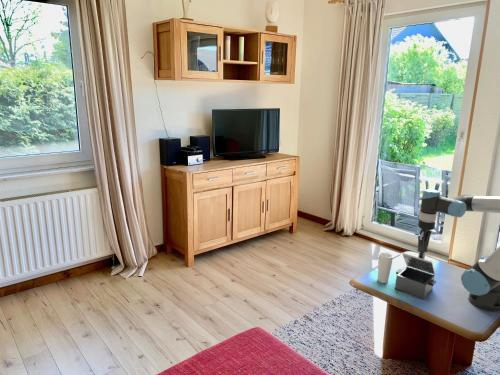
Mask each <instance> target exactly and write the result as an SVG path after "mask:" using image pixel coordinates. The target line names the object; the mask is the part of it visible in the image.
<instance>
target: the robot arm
mask: <svg viewBox="0 0 500 375" xmlns="http://www.w3.org/2000/svg"><path fill="white" fill-rule="evenodd" d="M420 202H421V204H420V209H419V212H418V215H419V217H418V218H419V220H418V222H417V223H418V224H417V227H418V228H420V229H421V230H419V235H418V236H417V239H418V240H417V241H418V243H417V252H418V256H417V257H418V258H421V259H425V258H426V253H428V248H429V247H428V246H429V243H430V239H431V235H432V232H433V231H432V230H435V227H436V221H437V214H438V213H441V214H444V215H448V216H451V217H455V218H462V217H463V216H464V215H465V213H466V212H476V213H477V212H479V213H493V214H500V196H497V195H496V196H493V195H492V196H491V195H488V196H487V195H472V194H462V195H458V196H456V197H452V198H449V197H445V196H442V195H441V192H440V191H439V190H437V189H432V188H427V189H424V190H423V191H422V196H421V201H420ZM425 260H426V259H425ZM460 280H461V284H462V286H463V288H464V289H465V290H466V291H467V292H469V293H468V298H467V299H468V301H469V302H470V303H471V304H472V305H474V306H475V307H477V308H478V309H479V308H480V309H482V310H485V311H488V312H494V311H497V313H498V311H500V246H498V247H497V248H496V249H495V250H494V251H493V252H492V253H491V254H490V255H482V256H481V257H480V259H478V260H477V261H476V262H475V263H474V264H473V265H472V266H471V267H469V268H468V269H465V270H464V271H463V273H462V274H461V277H460Z"/></svg>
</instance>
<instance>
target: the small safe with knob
mask: <svg viewBox="0 0 500 375" xmlns="http://www.w3.org/2000/svg"><path fill="white" fill-rule="evenodd" d="M395 274H396V278H395V286H394V290H395V291H398V292H401V293H404V294H406V295H409V296H412V297H414V298H418V299H420V300H423V301H424V300H425V299H426V298H427V296H428V295H429V294H431V293H432V291H433V289H434V286H435V284H436V282H437V280H435V277H436V276H435V275H436V274H435V275H434V274H431V273H427V272H424V271H421V270H418V269H415V268H412V267H409V266H405V267H404V268H403V269H402V268H399V269H398V270H397V271H396V272H395Z"/></svg>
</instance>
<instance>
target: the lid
mask: <svg viewBox="0 0 500 375" xmlns="http://www.w3.org/2000/svg"><path fill="white" fill-rule="evenodd" d="M402 257H403V259H404V262H405V265H406V267H411V268H414V269H417V270H420V271H423V272H426V273H429V274H433V275H436V271H435V267H434V263H433V261H431V260H427V259H421V258H418V256H414V255H411V254H408V253H405V252H403V253H402Z"/></svg>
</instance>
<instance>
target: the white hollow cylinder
mask: <svg viewBox="0 0 500 375" xmlns="http://www.w3.org/2000/svg"><path fill="white" fill-rule="evenodd" d="M393 258H394V256H393V254H391V253H389V252H380V253H379V255H378V259H377V260H378V261H377V262H378V263H377V264H378V265H377V268H378V269H377V281H378V282H379V283H381V284H387V283H388V282H389V278H390V274H391V270H392V266H393Z"/></svg>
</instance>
